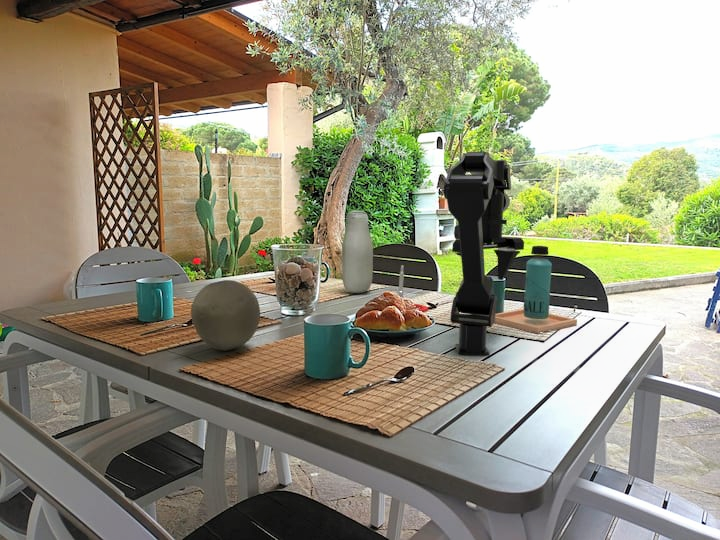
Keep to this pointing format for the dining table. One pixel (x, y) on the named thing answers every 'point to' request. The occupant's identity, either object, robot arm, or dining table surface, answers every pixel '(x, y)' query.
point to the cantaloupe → (225, 314)
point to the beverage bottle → (537, 285)
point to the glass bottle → (357, 253)
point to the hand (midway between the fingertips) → (487, 281)
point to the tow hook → (400, 292)
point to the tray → (533, 321)
